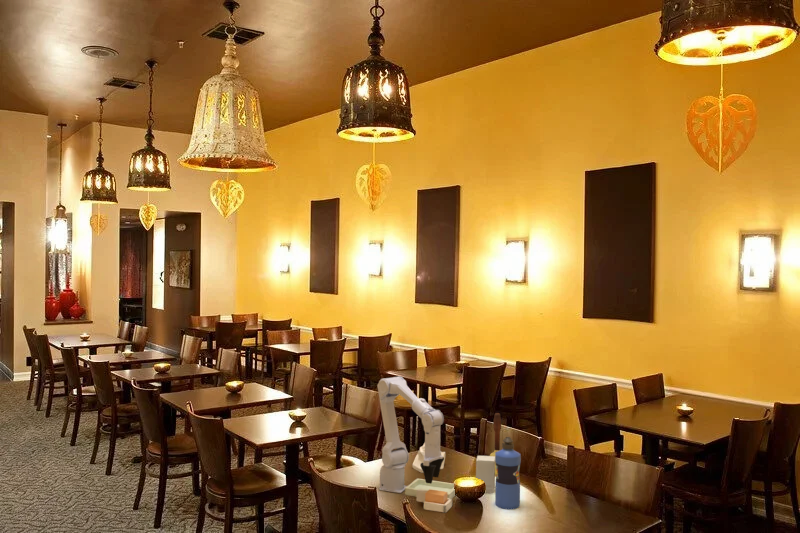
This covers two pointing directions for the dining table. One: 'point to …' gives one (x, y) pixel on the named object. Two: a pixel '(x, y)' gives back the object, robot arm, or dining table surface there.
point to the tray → (430, 487)
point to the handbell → (496, 435)
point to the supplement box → (486, 471)
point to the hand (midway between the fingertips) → (432, 479)
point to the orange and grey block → (432, 496)
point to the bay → (438, 506)
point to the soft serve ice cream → (420, 458)
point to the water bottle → (507, 476)
